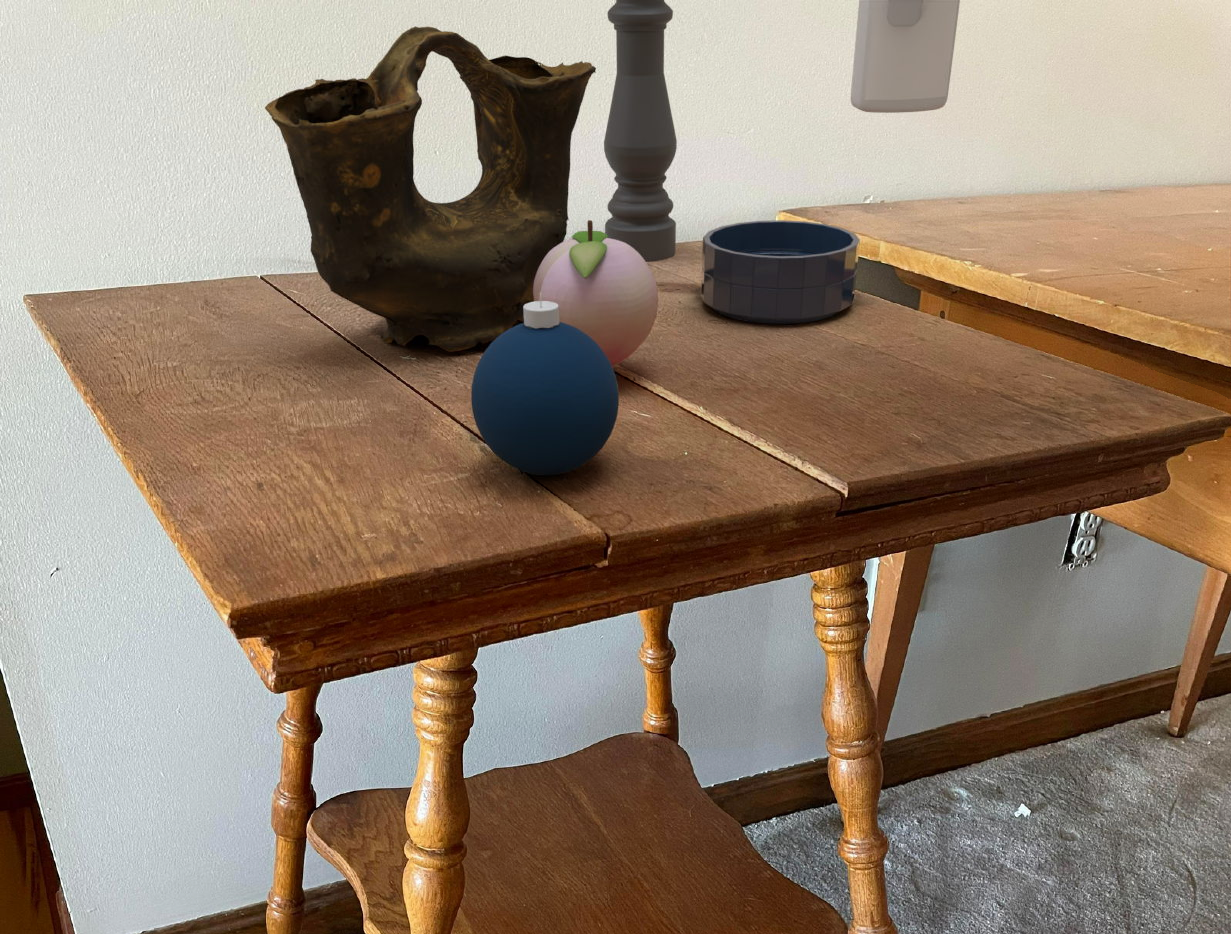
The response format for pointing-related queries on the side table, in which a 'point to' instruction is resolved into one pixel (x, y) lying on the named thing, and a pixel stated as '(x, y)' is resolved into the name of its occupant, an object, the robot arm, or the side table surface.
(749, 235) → the bowl
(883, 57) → the eye dropper bottle
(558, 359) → the christmas ornament
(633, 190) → the candle holder
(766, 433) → the side table surface
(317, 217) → the pottery vessel
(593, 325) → the decorative fruit
